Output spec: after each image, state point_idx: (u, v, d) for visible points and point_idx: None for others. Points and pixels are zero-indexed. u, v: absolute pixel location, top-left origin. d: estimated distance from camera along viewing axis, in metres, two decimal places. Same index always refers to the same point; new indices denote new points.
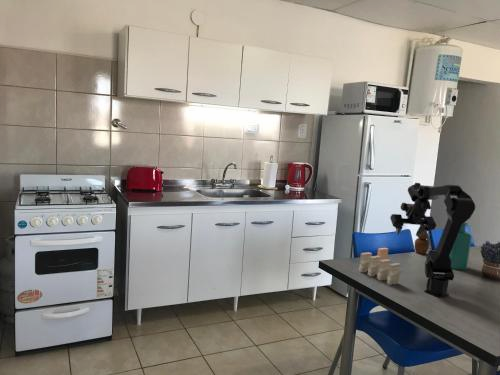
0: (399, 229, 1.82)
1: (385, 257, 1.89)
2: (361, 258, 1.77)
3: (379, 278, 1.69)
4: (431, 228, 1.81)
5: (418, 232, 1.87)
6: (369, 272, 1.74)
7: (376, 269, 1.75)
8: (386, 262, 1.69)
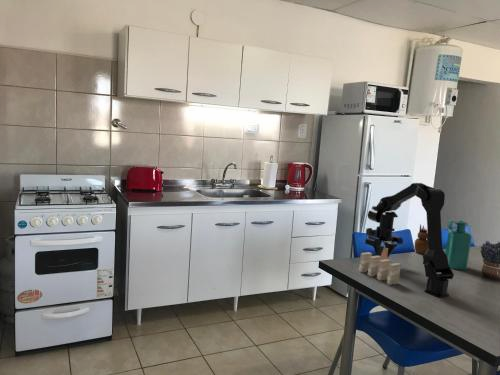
0: (381, 249, 1.84)
1: (385, 257, 1.89)
2: (361, 258, 1.77)
3: (379, 278, 1.69)
4: (400, 242, 1.89)
5: None
6: (369, 272, 1.74)
7: (376, 269, 1.75)
8: (386, 262, 1.69)
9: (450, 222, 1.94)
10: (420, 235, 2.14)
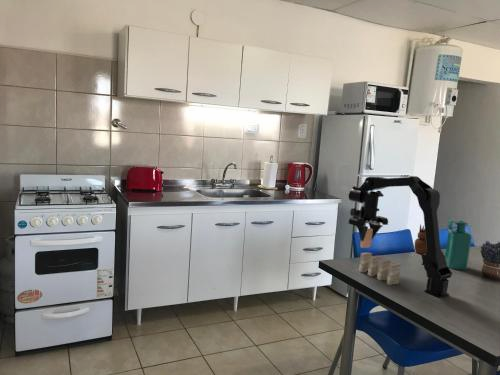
0: (365, 229, 1.79)
1: (370, 238, 1.84)
2: (361, 258, 1.77)
3: (379, 278, 1.69)
4: (385, 223, 1.84)
5: None
6: (369, 272, 1.74)
7: (376, 269, 1.75)
8: (386, 262, 1.69)
9: (450, 221, 1.94)
10: (420, 235, 2.14)
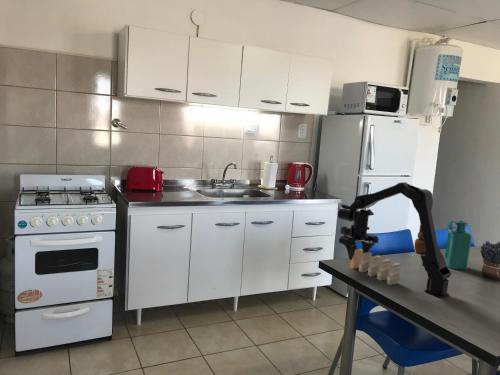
0: (354, 248, 1.78)
1: None
2: (361, 258, 1.78)
3: (379, 278, 1.69)
4: (376, 241, 1.83)
5: None
6: (369, 272, 1.74)
7: (376, 269, 1.75)
8: (386, 262, 1.69)
9: (450, 222, 1.94)
10: (420, 235, 2.14)
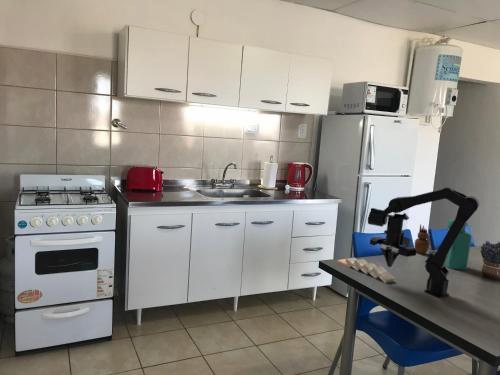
0: (383, 252, 1.67)
1: None
2: (348, 262, 1.84)
3: (375, 275, 1.71)
4: (402, 253, 1.59)
5: None
6: (364, 270, 1.76)
7: None
8: (369, 264, 1.77)
9: (450, 221, 1.94)
10: (420, 235, 2.14)
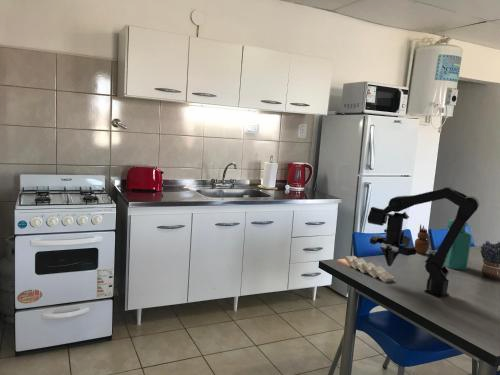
0: (383, 251, 1.67)
1: None
2: (348, 260, 1.86)
3: (374, 274, 1.72)
4: (402, 252, 1.59)
5: None
6: (361, 269, 1.77)
7: None
8: (367, 263, 1.78)
9: (450, 222, 1.94)
10: (420, 235, 2.14)
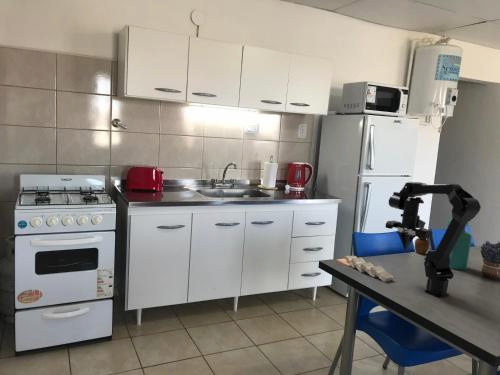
0: (400, 235, 1.73)
1: None
2: (347, 259, 1.88)
3: (373, 274, 1.72)
4: (419, 235, 1.65)
5: None
6: (359, 268, 1.78)
7: None
8: (366, 263, 1.78)
9: (450, 221, 1.94)
10: None
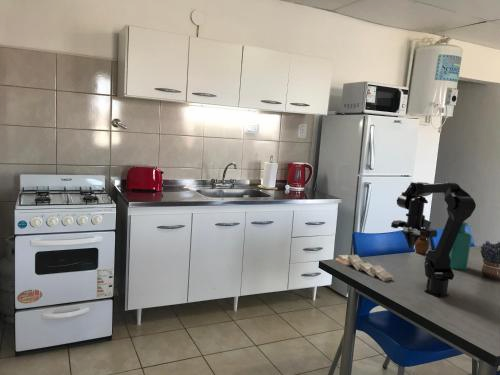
0: (405, 235, 1.75)
1: None
2: (340, 258, 1.90)
3: (372, 273, 1.73)
4: (424, 234, 1.67)
5: None
6: (356, 267, 1.80)
7: (360, 263, 1.82)
8: (365, 263, 1.79)
9: None
10: None
